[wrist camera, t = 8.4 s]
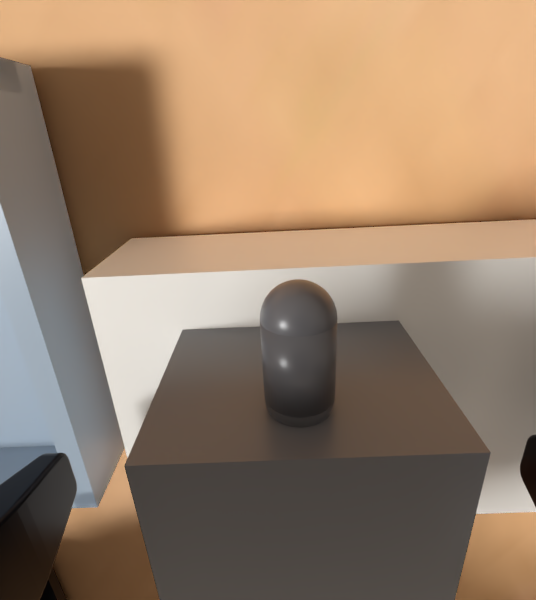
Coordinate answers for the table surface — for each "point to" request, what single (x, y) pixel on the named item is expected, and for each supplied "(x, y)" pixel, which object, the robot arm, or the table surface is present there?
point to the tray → (45, 311)
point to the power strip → (343, 313)
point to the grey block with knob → (305, 462)
